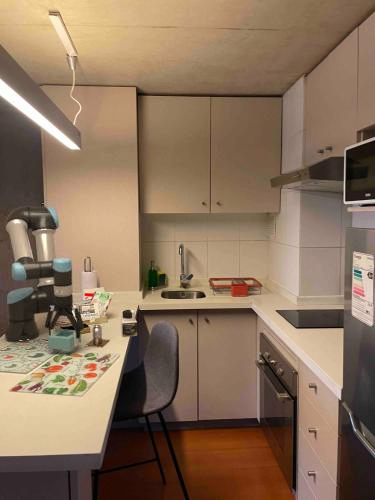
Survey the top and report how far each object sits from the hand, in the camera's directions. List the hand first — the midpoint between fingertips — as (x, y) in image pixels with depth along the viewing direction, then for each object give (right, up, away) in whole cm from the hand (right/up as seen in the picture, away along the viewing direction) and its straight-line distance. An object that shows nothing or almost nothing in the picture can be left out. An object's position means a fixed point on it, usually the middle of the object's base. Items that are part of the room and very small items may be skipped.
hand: (64, 344), depth 161 cm
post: (+12, -2, +9) cm, 15 cm away
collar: (0, 0, 0) cm, 0 cm away
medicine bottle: (+25, -1, +22) cm, 33 cm away
